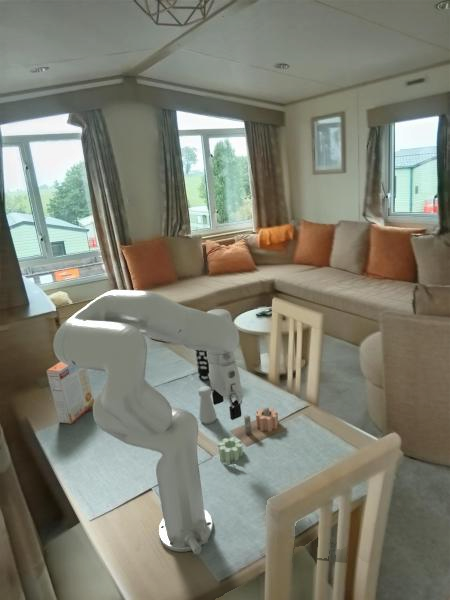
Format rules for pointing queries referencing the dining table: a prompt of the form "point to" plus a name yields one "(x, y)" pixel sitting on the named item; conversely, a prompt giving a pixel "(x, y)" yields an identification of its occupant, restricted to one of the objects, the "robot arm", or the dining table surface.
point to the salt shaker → (206, 406)
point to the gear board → (254, 431)
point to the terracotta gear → (267, 420)
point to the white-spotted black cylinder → (202, 365)
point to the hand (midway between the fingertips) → (227, 410)
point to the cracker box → (70, 391)
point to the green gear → (230, 450)
